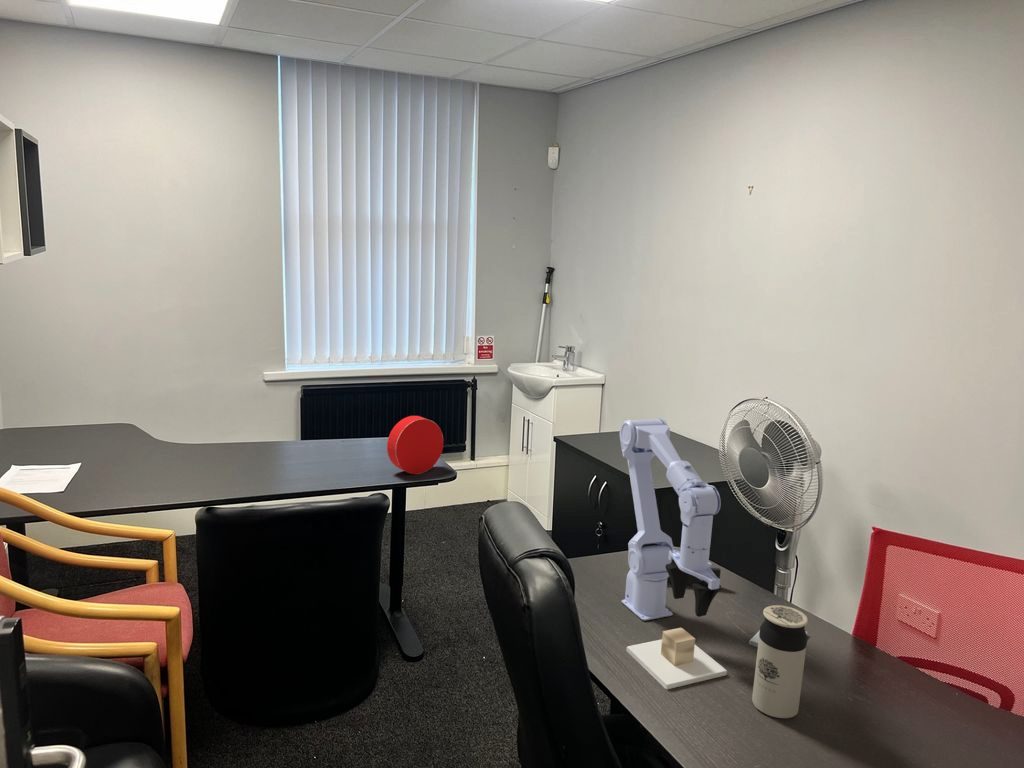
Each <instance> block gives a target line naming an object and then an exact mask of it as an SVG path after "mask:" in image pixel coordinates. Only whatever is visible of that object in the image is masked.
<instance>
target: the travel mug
mask: <svg viewBox="0 0 1024 768" xmlns="http://www.w3.org/2000/svg"><path fill="white" fill-rule="evenodd" d="M762 613H763V616H764V620H763V621H762V623H761V624H760V626H759V631H760V633H759V642H758V647H757V653H756V661H755V672H754V679H753V688H752V695H751V696H752V697H751V700H752V703H753V705H754V707H755V708H756V709H757V710H759V711H760V712H762V713H763V714H765V715H767V716H770V717H773V718H778V719H789V718H793V717H795V716H796V715H797V714H798V713H799V708H800V707H799V706H800V699H801V692H802V686H803V685H802V683H803V675H804V667H805V660H806V652H807V644H808V633H807V634H806V632H807V631H806V630H805V628H806V626H807V625H808V623H809V618H808V617H807V615H806V614H804V612H802V611H801V610H799V609H797V608H793V607H790V606H787V605H777V604H776V605H774V604H773V605H768V606H767V607H765V608H764V609H763V611H762ZM805 631H806V632H805Z"/></svg>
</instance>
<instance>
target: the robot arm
mask: <svg viewBox="0 0 1024 768" xmlns="http://www.w3.org/2000/svg"><path fill="white" fill-rule="evenodd" d="M670 438H671V431H670V427H669V425H668V423H667V421H666V420H665V419H663V418H661V417H660V418H657V419H650V418H649V419H636V420H635V419H634V420H633V419H626V420H624V421H623V423H622V424H621V426H620V431H619V441H620V448H621V449H620V450H621V453H622V457H623V458H625V460H626V459H627V467H628V473H629V474H628V475H629V478H630V486H631V494H632V500H633V506H634V514H635V520H636V528H637V533H636V534H634V536H633V537H632V538H631V539H630V540H629V542H628V543H627V545H628V546H627V547H628V555H627V562H628V566H629V567H628V568H629V571H628V573H627V575H626V581H625V593H624V594H625V595H624V599H622V600H621V603H622V604H624V606H625V607H626V608H627V609H629V610H630V611H632V613H633V614H635V615H636V616H637V617H638V618H639V619H641V620H642V621H644V622H645V621H650V620H655V619H660V618H661V619H662V618H665V617H671V616H673V615H674V613H673V612H672V611H671V610H670V609H668V608H667V607H666V600H667V599H666V598H667V588H668V583H667V577H670V580H671V584H670V585H671V591H672V596H673V599H675V600H678V599H683V598H684V597H685V595H686V591H687V589H686V588H687V585H686V584H687V579H688V576H689V574H690V575H693V576H695V577H697V578H699V579H700V580H701V583H695V584H692V586H691V588H692V590H693V593H694V600H695V603H694V604H695V607H694V610H695V611H694V612H695V616H696V617H698V618H699V617H704V616H707V613H708V611H709V608H710V605H711V604H712V601H713V600H714V598H715V597H716V596H717V594H718V593H719V592H720V591H721V589H722V588H721V587H722V585H721V578H720V579H719V578H718V577H716V575H715V574H714V573H713V571H712V570H711V568H713V567H712V565H713V564H712V562H710V560H709V559H710V550H711V549H710V548H711V539H712V532H713V531H712V530H713V529H712V528H713V519H714V515H717V514H718V513H719V512H720V510H721V505H722V503H721V501H722V500H721V496H720V493H719V491H718V490H717V488H716V487H715V485H710V484H708V483H707V482H704V481H703V480H702V478H701V477H700V475H699V474H698V473H697V471H696V469H695V468H694V467H693V465H692V464H691V463H690V462H689V461H687V460H682V458H681V457H680V455H679V454H678V452H677V450H676V448H675V446H674V444H673V442H672V441H671V439H670ZM654 457H657V458H658V459H659V461H660V462H661V463H662V465H663V466H664V467H665V468H666V469H667V470H666V474H665V477H666V479H667V480H668V482H669V483H670V486H671V487H672V488H673V490H674V491H675V493H676V494H677V496H678V507H679V509H680V521H681V522H682V529H681V538H680V539H681V541H680V550H677V549H675V546H674V543H673V540H672V539H673V538H672V537H671V536H670V535H668V534H667V533H665V532H663V530H662V529H661V524H660V519H659V518H660V517H659V510H658V504H657V498H656V492H655V491H656V490H655V485H654V479H653V471H652V467H651V461H652V459H653V458H654ZM650 544H656V545H650ZM644 545H646V546H644Z"/></svg>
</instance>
